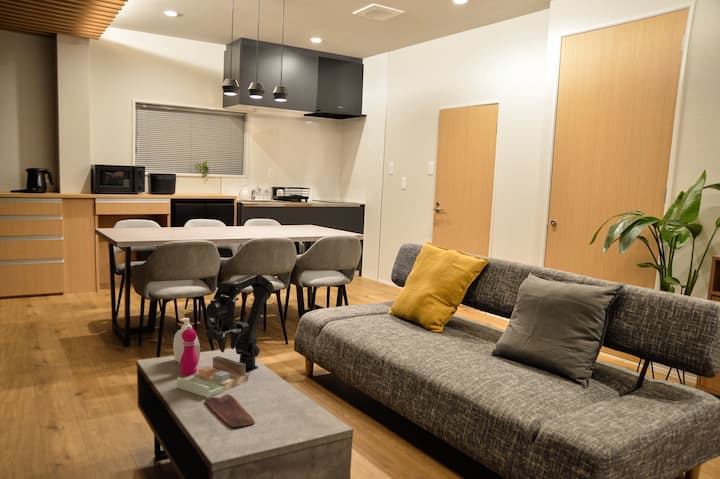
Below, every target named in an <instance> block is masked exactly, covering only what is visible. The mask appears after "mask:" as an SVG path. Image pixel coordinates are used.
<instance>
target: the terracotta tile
mask: <svg viewBox="0 0 720 479" xmlns="http://www.w3.org/2000/svg"><path fill="white" fill-rule="evenodd" d="M198 373H199V375H200V376H203V377H206V378H207V377H210V376H213V373H215V368H213V366H208V365H206V366H204V367H201V368H198Z"/></svg>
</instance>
